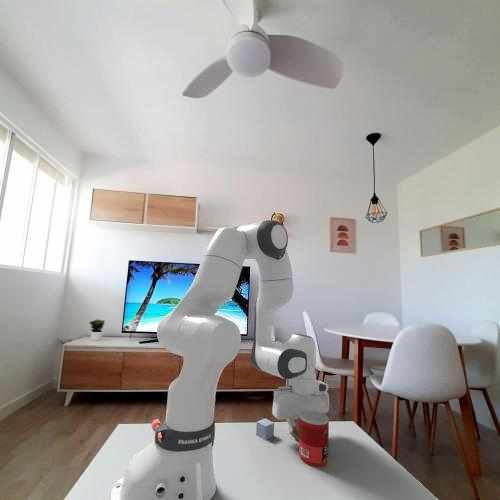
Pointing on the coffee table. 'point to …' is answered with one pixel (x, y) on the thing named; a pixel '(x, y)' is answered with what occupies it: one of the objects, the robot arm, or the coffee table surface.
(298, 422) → the tan cube
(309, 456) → the canned food
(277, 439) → the coffee table surface
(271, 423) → the slate block
